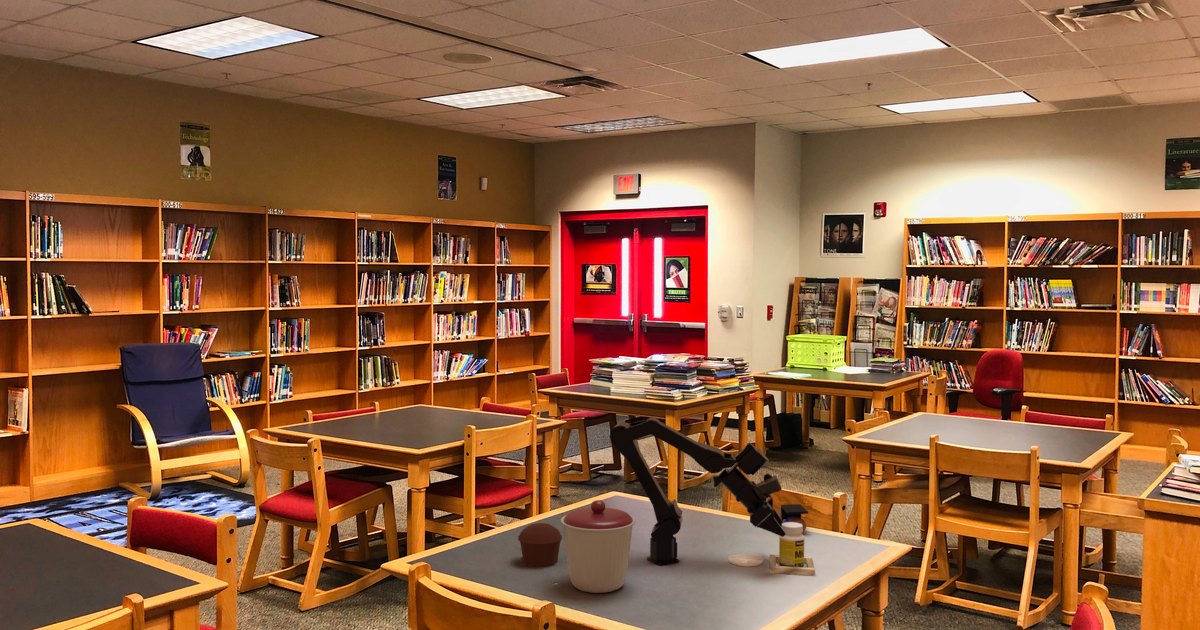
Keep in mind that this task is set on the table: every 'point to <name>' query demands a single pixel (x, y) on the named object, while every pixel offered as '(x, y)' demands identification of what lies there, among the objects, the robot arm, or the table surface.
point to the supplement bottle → (791, 545)
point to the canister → (598, 547)
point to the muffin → (540, 545)
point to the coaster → (745, 560)
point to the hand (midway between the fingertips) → (783, 530)
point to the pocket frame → (792, 570)
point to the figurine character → (793, 514)
